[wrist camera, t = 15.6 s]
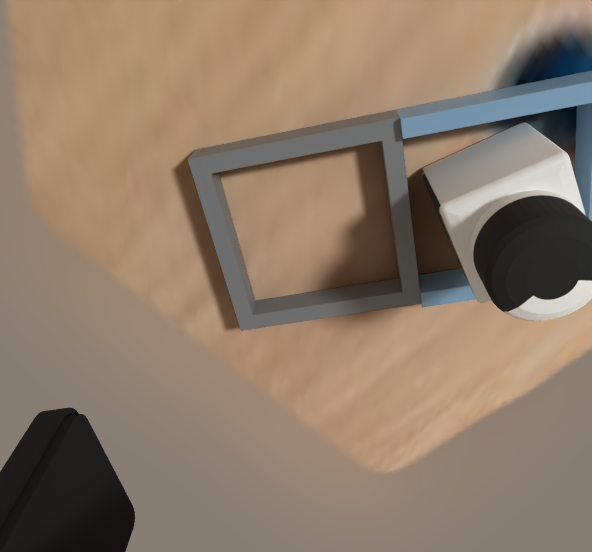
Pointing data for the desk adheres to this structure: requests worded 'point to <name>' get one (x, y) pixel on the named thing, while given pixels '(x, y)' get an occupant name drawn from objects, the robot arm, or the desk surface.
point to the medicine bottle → (516, 223)
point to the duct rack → (389, 130)
